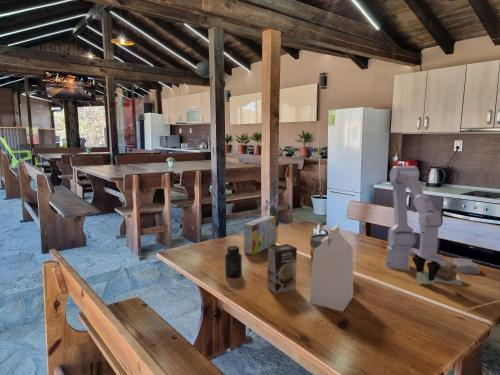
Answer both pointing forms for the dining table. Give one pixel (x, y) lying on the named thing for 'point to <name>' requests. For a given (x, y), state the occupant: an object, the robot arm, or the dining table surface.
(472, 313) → the dining table surface
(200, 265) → the dining table surface
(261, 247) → the snack box
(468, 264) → the stone block
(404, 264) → the robot arm
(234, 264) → the supplement bottle
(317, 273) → the milk
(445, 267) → the tower top
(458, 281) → the felt mat
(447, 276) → the tower base
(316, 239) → the reusable coffee cup
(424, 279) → the pale green cube
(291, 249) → the coffee box
